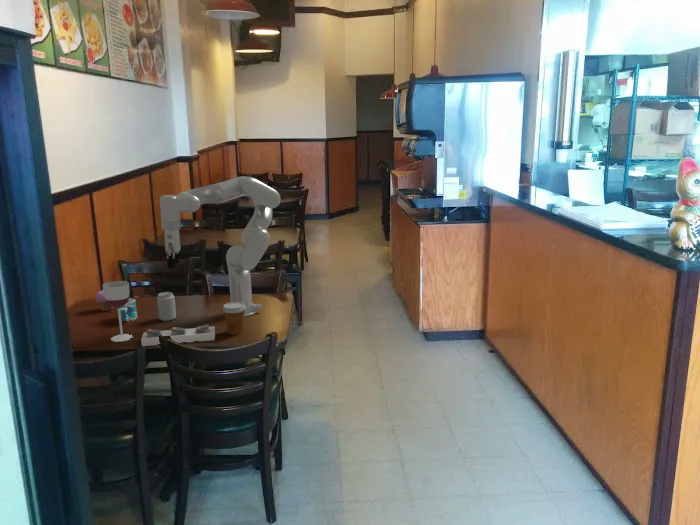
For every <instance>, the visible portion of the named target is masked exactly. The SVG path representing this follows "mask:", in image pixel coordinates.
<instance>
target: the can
mask: <svg viewBox="0 0 700 525" xmlns="http://www.w3.org/2000/svg"><path fill="white" fill-rule="evenodd" d="M175 299H176V297H175V295H174V294H173V292H171V291H164V292H163V291H162V292H160V293H158V294H157V296H156V301H157V312H158V319H159V320H160V321H161V320H162V322H170V320H171V321H173V319H174V320H175V318H177V310H176V300H175Z"/></svg>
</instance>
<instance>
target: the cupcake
mask: <svg viewBox="0 0 700 525" xmlns="http://www.w3.org/2000/svg"><path fill="white" fill-rule="evenodd" d="M95 301H96V302H97V303H98V304H99V307H100V309H101V311H103V312H106V311H108V310H109V311H112V310H114V307H113V306H111V305H109V304H108V303H107V301H106V298H105V295H104V291H103V289H101V290H100V291H97V292H96V294H95Z"/></svg>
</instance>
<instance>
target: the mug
mask: <svg viewBox="0 0 700 525" xmlns="http://www.w3.org/2000/svg"><path fill="white" fill-rule="evenodd" d="M116 309H117V311H118V308H116ZM137 311H138V310H137V302H136V299H135V298H129V300H128V302H127V303H126V304H125V305H124V306H122V307H120V314H121V322H122V321H127V322H131V321H130V320H132V321H135V320H136V318H137V319H138V312H137ZM117 317H118V320H119V316H118V315H117ZM134 319H135V320H134Z"/></svg>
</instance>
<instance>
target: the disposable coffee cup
mask: <svg viewBox="0 0 700 525" xmlns="http://www.w3.org/2000/svg"><path fill="white" fill-rule="evenodd" d="M245 308H246V306H245V305H244V303H242V302H231V301H230V302H227V303H225V304H223V306H222V308H221V309H222V311H223V314H224V319H225V325H226V329H227V334H228V335H231V336H237V335H238V334H239V335H241V334H243V333H244V329H245V328H244V327H245V317H244V315H245Z"/></svg>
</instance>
